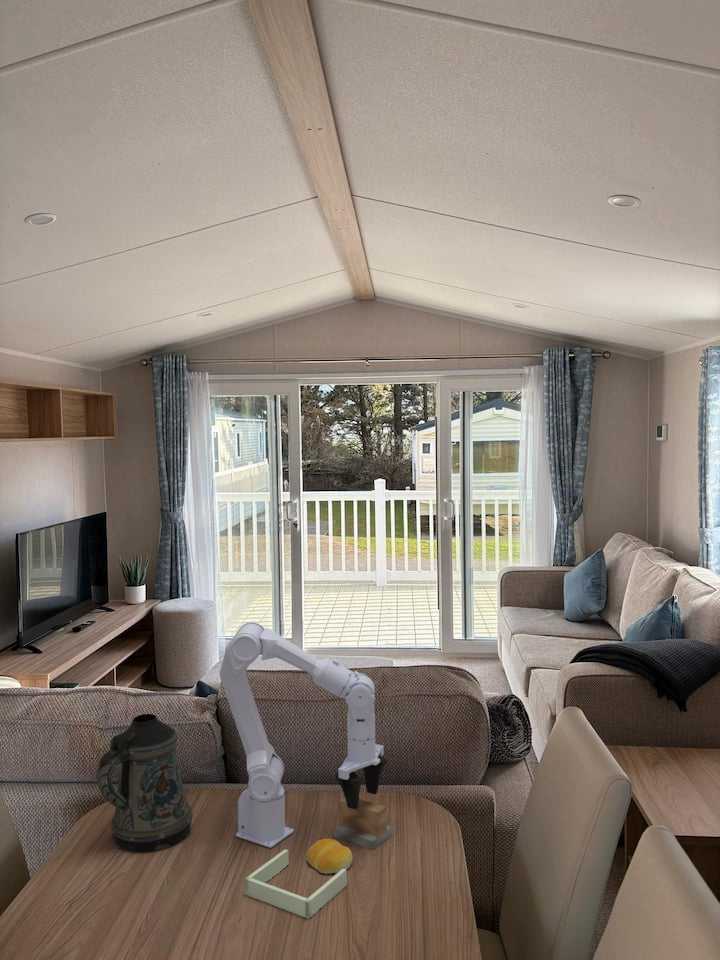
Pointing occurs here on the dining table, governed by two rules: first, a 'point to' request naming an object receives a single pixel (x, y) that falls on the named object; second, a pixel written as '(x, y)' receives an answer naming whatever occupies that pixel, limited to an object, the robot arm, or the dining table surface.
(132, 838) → the beer stein
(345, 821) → the scraper
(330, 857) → the bread roll
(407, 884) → the dining table surface
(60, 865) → the dining table surface
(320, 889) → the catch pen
